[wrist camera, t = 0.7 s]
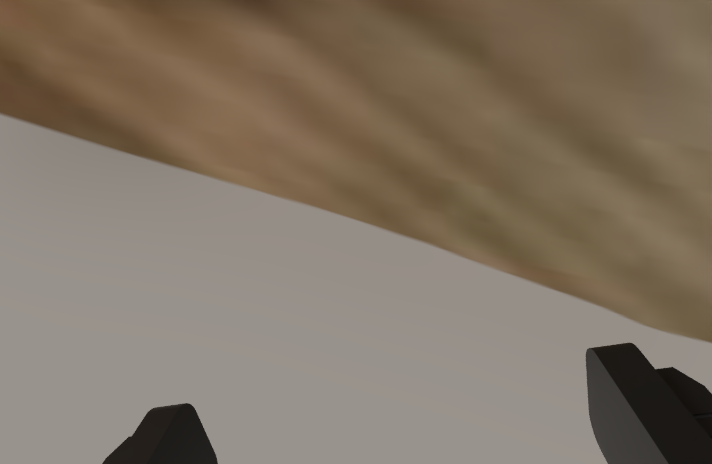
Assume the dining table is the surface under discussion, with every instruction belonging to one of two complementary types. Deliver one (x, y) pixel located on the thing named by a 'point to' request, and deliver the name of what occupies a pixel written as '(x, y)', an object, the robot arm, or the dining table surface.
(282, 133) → the dining table surface
